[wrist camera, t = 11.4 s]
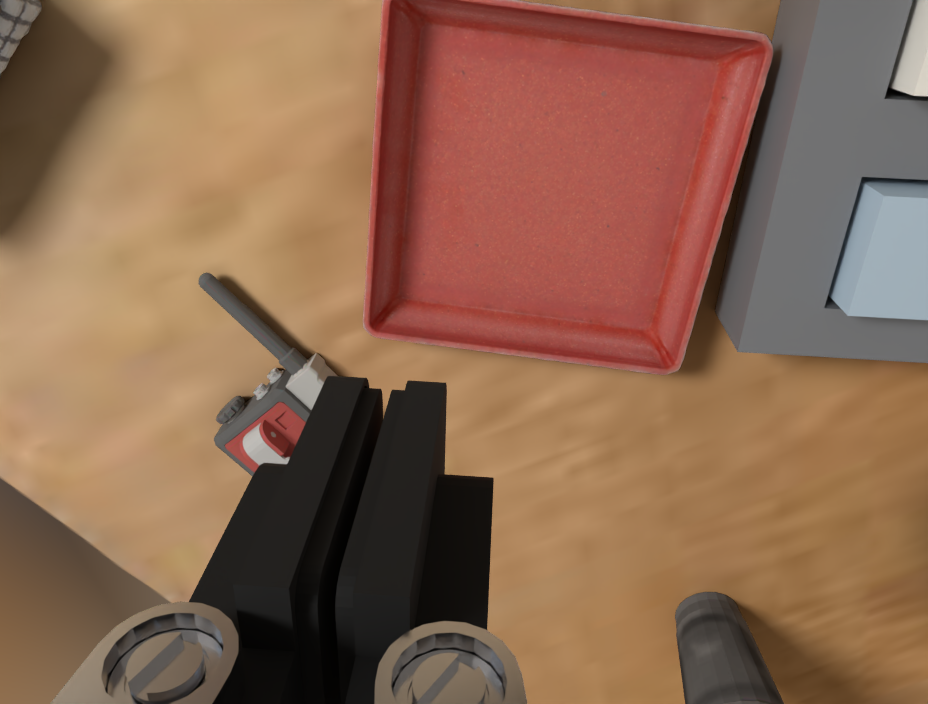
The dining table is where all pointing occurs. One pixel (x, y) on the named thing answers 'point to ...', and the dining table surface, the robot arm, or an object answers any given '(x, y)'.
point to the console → (820, 181)
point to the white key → (913, 53)
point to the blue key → (885, 252)
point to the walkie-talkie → (266, 394)
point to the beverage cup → (720, 654)
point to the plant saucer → (552, 177)
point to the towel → (15, 25)
